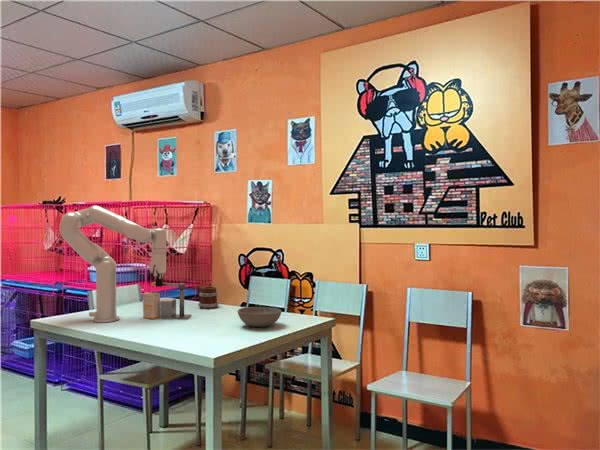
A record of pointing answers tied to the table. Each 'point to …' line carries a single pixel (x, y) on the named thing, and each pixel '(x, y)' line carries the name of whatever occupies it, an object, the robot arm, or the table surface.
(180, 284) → the bar
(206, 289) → the brown wooden barrel
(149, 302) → the supplement box
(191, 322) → the table surface
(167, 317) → the block
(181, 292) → the post
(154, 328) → the table surface
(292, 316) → the table surface
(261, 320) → the bowl
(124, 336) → the table surface
